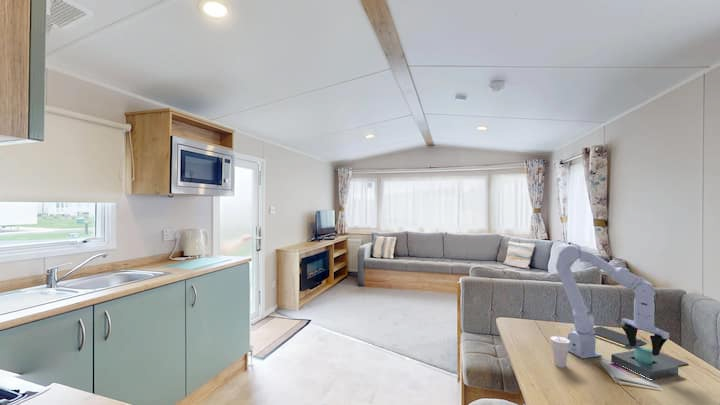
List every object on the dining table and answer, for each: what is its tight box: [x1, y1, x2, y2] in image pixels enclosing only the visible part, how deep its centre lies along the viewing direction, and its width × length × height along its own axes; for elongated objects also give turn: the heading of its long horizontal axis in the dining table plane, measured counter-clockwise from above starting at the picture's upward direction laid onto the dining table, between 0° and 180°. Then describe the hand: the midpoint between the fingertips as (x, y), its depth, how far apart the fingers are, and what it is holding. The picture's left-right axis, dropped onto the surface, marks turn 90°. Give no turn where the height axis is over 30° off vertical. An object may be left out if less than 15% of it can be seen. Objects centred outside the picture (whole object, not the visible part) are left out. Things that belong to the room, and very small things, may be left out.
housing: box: [610, 349, 679, 381], centre depth 118 cm, size 14×13×3 cm
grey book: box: [593, 326, 648, 351], centre depth 144 cm, size 20×2×15 cm
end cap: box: [634, 346, 653, 365], centre depth 118 cm, size 5×5×7 cm
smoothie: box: [549, 326, 570, 368], centre depth 120 cm, size 6×6×14 cm
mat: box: [653, 352, 689, 367], centre depth 124 cm, size 11×11×1 cm
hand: (643, 350), depth 118 cm, fingers open, 7 cm apart
